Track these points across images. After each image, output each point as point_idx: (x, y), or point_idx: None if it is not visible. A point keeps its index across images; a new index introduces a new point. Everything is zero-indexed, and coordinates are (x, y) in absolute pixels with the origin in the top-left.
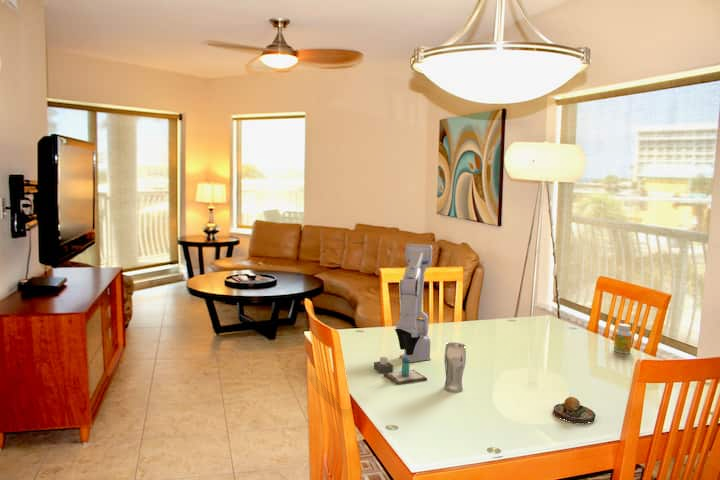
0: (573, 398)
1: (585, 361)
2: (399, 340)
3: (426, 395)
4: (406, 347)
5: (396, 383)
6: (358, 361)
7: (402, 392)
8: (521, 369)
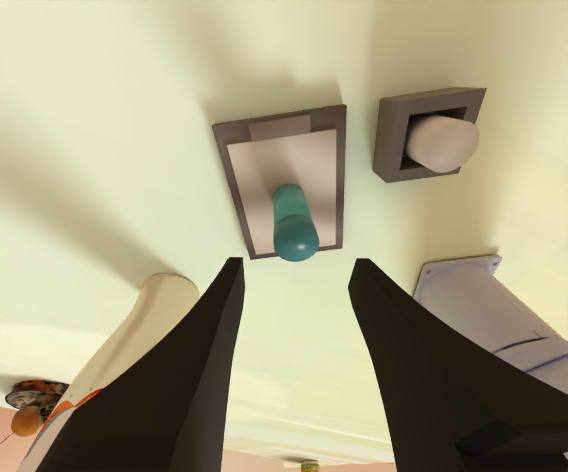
0: (18, 435)
1: (289, 443)
2: (396, 306)
3: (98, 203)
4: (201, 298)
5: (213, 125)
6: None
7: (114, 114)
8: (279, 402)
